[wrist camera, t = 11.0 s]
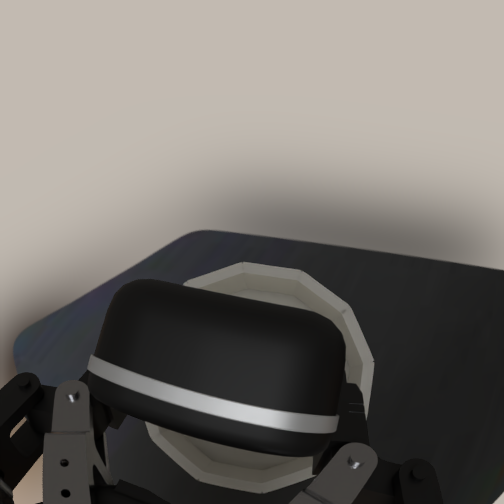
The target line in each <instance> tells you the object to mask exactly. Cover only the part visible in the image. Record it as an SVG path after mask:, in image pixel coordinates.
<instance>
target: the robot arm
mask: <svg viewBox="0 0 504 504" xmlns="http://www.w3.org/2000/svg"><path fill="white" fill-rule="evenodd" d="M89 373H90V371H89V370H87V371H86V372H85V373H84V375H83V376H82V377H81V378H80V379H79V380H70V381H66V382H64V383H62V384H60V385H59V386H58V387H52V386H46V385H41V383H40V381H39V379H38V377H37V376H36V375H35V374H33V373H28V372H25V373H21V374H18V375H16V376H15V377H14V378H13V379H12V380H10V381H9V382H8V383H7V384H6V385H5V386H4V387H3V388H2V389H1V390H0V504H14V501H13V493H12V491H13V490H14V488H15V487H16V486H17V485H18V483H19V482H20V481H21V480H22V478H23V477H24V476H25V475H26V473H27V472H28V471H29V470H30V468H31V467H32V466H33V464H34V463H35V462H36V461H37V459H38V458H39V457H40V456H41V455H42V454H43V502H40V503H37V504H170V503H168V502H167V501H165V500H163V499H162V498H160V497H158V496H157V495H155V494H153V493H152V492H150V491H148V490H146V489H144V488H141V487H138V486H136V485H133V484H130V483H128V482H125V481H123V480H121V479H120V480H119V482H118V484H117V485H114V483H113V480H112V477H111V474H110V469H109V461H108V452H107V443H106V434H105V430H106V429H107V427H108V426H110V427H112V428H115V429H117V430H118V428H119V427H120V425H121V423H122V422H123V420H124V419H125V417H126V416H127V414H125V413H123V412H120V411H118V410H116V409H114V408H112V407H109V406H107V405H105V404H103V403H102V402H100V401H99V400H97V399H95V398H94V396H93V395H92V394H91V393H90V392H89V390H88V386H87V383H88V377H89ZM336 414H337V415H339V420H338V425H337V429H336V431H335V432H332V436H331V440H330V443H329V445H328V448H327V449H326V450H325V451H324V452H322V453H320V454H318V455H315V456H313V465H312V475H318V476H317V477H316V478H315V479H314V481H313V482H312V483H311V484H310V485H309V486H308V487H307V488H306V489H303V490H302V491H301V492H300V493H299V494H298V495H297V496H296V497H295V498H294V499H293V500H292V501H291V502H290V503H289V504H443V499H442V495H441V491H440V487H439V483H438V480H437V476H436V472H435V469H434V468H433V466H432V465H431V464H430V463H429V462H427V461H425V460H422V459H410V460H408V461H406V462H405V463H404V464H403V465H399V464H395V463H391V462H388V461H385V460H382V459H380V458H379V457H377V455H376V453H375V451H374V450H373V449H372V448H371V447H370V446H369V439H368V431H367V423H366V415H365V408H364V400H363V394H362V392H361V390H360V389H359V387H358V386H357V384H356V383H347V379H346V371H345V370H344V375H343V381H342V387H341V392H340V397H339V403H338V408H337V413H336ZM24 417H25V418H26V419H27V420H26V421H25V423H24V424H23V425H22V426H21V427H20V428H19V429H18V430H17V431H16V432H15V434H13V436H12V437H11V438H10V433H11V431H12V429H13V428H14V427H15V426H16V425H17V424H18V423H19V422H20V421H21V420H22V419H23V418H24Z"/></svg>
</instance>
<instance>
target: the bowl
mask: <svg viewBox="0 0 504 504" xmlns="http://www.w3.org/2000/svg"><path fill="white" fill-rule="evenodd" d="M187 282H188V283H187ZM187 282H185V283H184V284H183V285H184V286H189V287H193V288H198V289H203V290H208V291H213V292H218V293H223V294H228V295H233V296H238V297H243V298H248V299H253V300H258V301H264V302H269V303H274V304H279V305H285V306H290V307H296V308H301V309H306V310H309V311H313V312H316V313H318V314H320V315H322V316H324V317H326V318H328V319H330V320H331V321H332V322H333V323H334V324H335V325H336V326H337V328H338V329H339V330H340V331H341V332H342V334H343V338H344V341H345V344H346V361H345V369H344V370H345V371H346V379H347V383H356V384H357V386H358V387H359V389H360V390H361V392H362V394H363V400H364V408H365V415H366V419H367V413H368V407H369V400H370V394H371V386H372V379H373V370H374V362H373V361H374V359H373V357H372V354H371V352H370V350H369V347H368V345H367V343H366V340H365V338H364V336H363V333H362V331H361V329H360V327H359V324H358V322H357V320H356V318H355V315H354V313H353V311H352V309H351V307H349V306H350V305H348V304H347V303H345V302H344V301H343V300H341V299H340V298H339V297H337V296H336V295H335V294H333V293H332V292H331V291H329V290H328V289H327V288H325V287H324V286H323V285H321V284H320V283H318V282H317V281H316V280H314V279H313V278H312V277H310V276H309V275H308V274H306V273H305V272H303V271H302V272H301V270H296V269H289V268H282V267H275V266H268V265H261V264H255V263H248V262H243V264H242V262H240V263H237V264H235V265H232V266H229V267H226V268H223V269H220V270H217V271H214V272H212V273H209V274H206V275H203V276H200V277H197V278H194V279H191V280H188V281H187ZM348 307H349V308H348ZM145 423H146V426H147V429H148V432H149V435H150V438H152V437H153V438H152V440H153V441H154V442H155V443H156V444H157V445H158V446H159V447H160V448H161V449H162V450H163V451H164V452H165V453H166V454H167V455H169V456H170V457H171V458H172V459H173V460H174V461H175V462H176V463H177V464H179V465H180V466H181V467H182V468H183V469H184V470H185V471H187V472H188V473H189V474H190V475H191V476H193V477H194V478H195V479H196V480H198V479H199V481H201V482H205V483H209V484H213V485H217V486H222V487H227V488H232V489H237V490H242V491H248V492H254V493H261V492H263V493H266V492H270V491H273V490H276V489H279V488H283V487H286V486H289V485H292V484H295V483H297V482H300V481H303V480H306V479H308V478H311V477H314V476H316V475H312V465H313V456H311V457H284V456H277V455H270V454H263V453H258V452H252V451H247V450H242V449H238V448H233V447H229V446H225V445H220V444H216V443H212V442H209V441H205V440H201V439H197V438H194V437H190V436H187V435H184V434H181V433H177V432H174V431H171V430H168V429H165V428H162V427H159V426H157V425H154V424H151V423H148V422H146V421H145Z"/></svg>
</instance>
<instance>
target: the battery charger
mask: <svg viewBox="0 0 504 504" xmlns="http://www.w3.org/2000/svg"><path fill="white" fill-rule="evenodd" d="M345 361H346V344H345V341H344V338H343V334H342V332H341V331H340V330H339V329H338V328H337V326H336V325H335V324H334V323H333V322H332V321H331V320H330V319H328V318H326V317H324V316H322V315H320V314H318V313H316V312H313V311H309V310H306V309H301V308H296V307H290V306H285V305H279V304H274V303H269V302H264V301H258V300H253V299H248V298H243V297H238V296H233V295H228V294H223V293H218V292H213V291H208V290H203V289H198V288H193V287H189V286H184V285H179V284H174V283H170V282H165V281H160V280H154V279H138V280H134V281H132V282H130V283H127V284H125V285H123V286H122V287H121V288H120V289H119V290H118V291H117V292H116V293H115V295H114V297H113V299H112V301H111V303H110V305H109V308H108V310H107V313H106V317H105V320H104V323H103V326H102V330H101V333H100V336H99V340H98V343H97V347H96V350H95V354H94V355H93V354H91V356H90V360H89V364H88V367H87V369H88V370H89V371H90V373H89V377H88V383H87V386H88V390H89V392H90V393H91V394H92V395H93V396H94V398H95V399H97V400H99V401H100V402H102V403H103V404H105V405H107V406H109V407H112V408H114V409H116V410H118V411H120V412H123V413H125V414H128V415H130V416H133V417H135V418H138V419H140V420H143V421H146V422H148V423H151V424H154V425H157V426H159V427H162V428H165V429H168V430H171V431H174V432H177V433H181V434H184V435H187V436H190V437H194V438H197V439H201V440H205V441H209V442H212V443H216V444H220V445H225V446H229V447H233V448H238V449H242V450H247V451H252V452H258V453H263V454H270V455H277V456H284V457H311V456H315V455H318V454H320V453H322V452H324V451H325V450H326V449H327V448H328V445H329V443H330V440H331V436H332V432H335V431H336V429H337V425H338V420H339V415H337V414H336V413H337V408H338V403H339V397H340V392H341V387H342V381H343V375H344V369H345Z"/></svg>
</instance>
